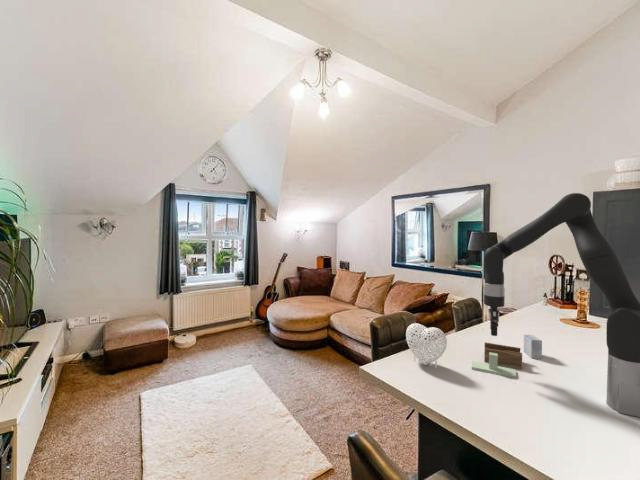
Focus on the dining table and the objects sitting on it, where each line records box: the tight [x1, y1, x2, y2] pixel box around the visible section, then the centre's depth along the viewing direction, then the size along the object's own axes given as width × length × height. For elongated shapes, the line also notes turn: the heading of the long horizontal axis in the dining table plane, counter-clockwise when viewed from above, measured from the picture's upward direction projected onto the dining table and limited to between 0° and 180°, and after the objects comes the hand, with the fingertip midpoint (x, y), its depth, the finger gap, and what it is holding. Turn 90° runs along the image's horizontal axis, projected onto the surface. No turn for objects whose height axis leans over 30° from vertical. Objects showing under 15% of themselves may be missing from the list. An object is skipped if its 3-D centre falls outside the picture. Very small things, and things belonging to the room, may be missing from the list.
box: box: [483, 341, 523, 370], centre depth 135 cm, size 9×14×6 cm, turn 61°
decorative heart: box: [405, 322, 448, 369], centre depth 131 cm, size 18×11×17 cm, turn 45°
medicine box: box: [523, 334, 543, 360], centre depth 142 cm, size 8×4×9 cm, turn 168°
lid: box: [471, 352, 517, 379], centre depth 126 cm, size 6×16×7 cm, turn 61°
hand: (493, 332), depth 126 cm, fingers open, 8 cm apart
